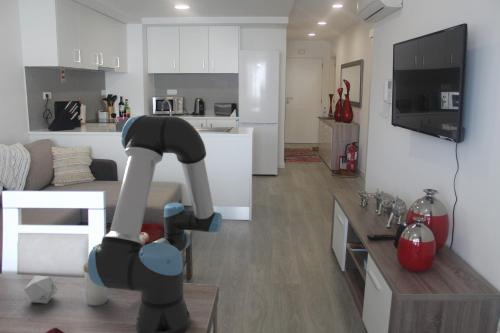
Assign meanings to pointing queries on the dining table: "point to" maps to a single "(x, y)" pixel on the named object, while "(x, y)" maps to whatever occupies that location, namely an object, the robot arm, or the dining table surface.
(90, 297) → the jar
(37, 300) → the die
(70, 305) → the dining table surface
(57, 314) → the dining table surface
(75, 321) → the dining table surface
